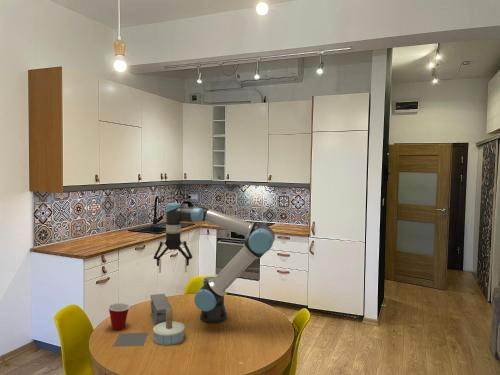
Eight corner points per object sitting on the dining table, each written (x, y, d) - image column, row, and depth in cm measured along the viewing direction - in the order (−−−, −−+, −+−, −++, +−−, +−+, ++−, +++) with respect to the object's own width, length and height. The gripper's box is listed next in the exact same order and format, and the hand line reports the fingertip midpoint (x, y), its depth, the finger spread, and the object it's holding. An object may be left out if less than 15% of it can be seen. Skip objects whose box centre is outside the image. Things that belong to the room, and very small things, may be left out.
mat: (148, 333, 186) (148, 332, 186) (143, 346, 172) (143, 345, 172) (119, 334, 185) (119, 333, 185) (112, 347, 171) (112, 346, 171)
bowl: (184, 332, 188) (184, 322, 188) (182, 345, 174) (182, 334, 174) (156, 333, 187) (156, 323, 187) (152, 346, 173) (152, 335, 173)
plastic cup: (128, 332, 187) (128, 309, 187) (105, 333, 185) (105, 310, 185) (131, 323, 198) (131, 301, 197) (110, 324, 196) (110, 302, 196)
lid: (185, 322, 189) (185, 303, 188) (183, 335, 174) (183, 314, 173) (155, 323, 187) (155, 304, 187) (150, 336, 172) (151, 315, 172)
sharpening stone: (171, 328, 193) (172, 308, 192) (156, 331, 190) (156, 310, 189) (164, 311, 216) (164, 293, 215) (150, 313, 213) (150, 295, 212)
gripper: (197, 231, 201) (196, 269, 201) (150, 231, 198) (150, 270, 199) (196, 233, 193) (196, 273, 194) (148, 233, 190) (147, 274, 191)
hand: (172, 271), depth 196 cm, fingers open, 13 cm apart
